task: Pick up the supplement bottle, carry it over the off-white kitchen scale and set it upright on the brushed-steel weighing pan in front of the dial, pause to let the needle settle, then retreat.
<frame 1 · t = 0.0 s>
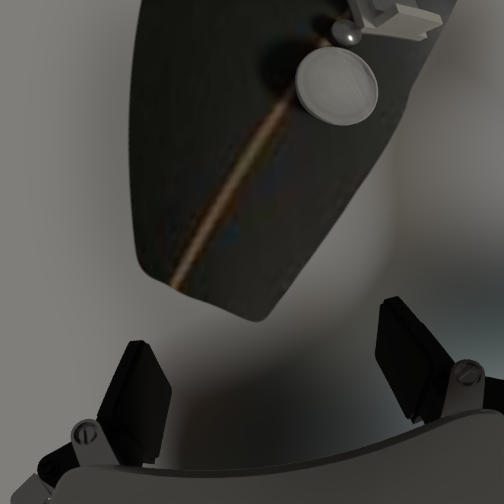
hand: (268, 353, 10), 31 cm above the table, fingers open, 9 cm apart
scale housing: (381, 12, 28), on the table
ramekin: (327, 91, 34), on the table
shiny gray ball: (340, 37, 30), on the table
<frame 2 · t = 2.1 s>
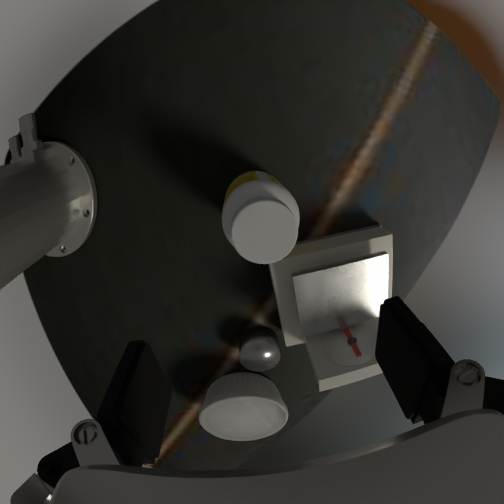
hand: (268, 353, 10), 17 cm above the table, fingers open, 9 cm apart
scale housing: (330, 280, 29), on the table
ramekin: (242, 391, 35), on the table
shiny gray ball: (258, 340, 31), on the table
pan: (342, 292, 25), point 4 cm above the table, slide at 1.2 cm
supplement bottle: (255, 199, 25), on the table
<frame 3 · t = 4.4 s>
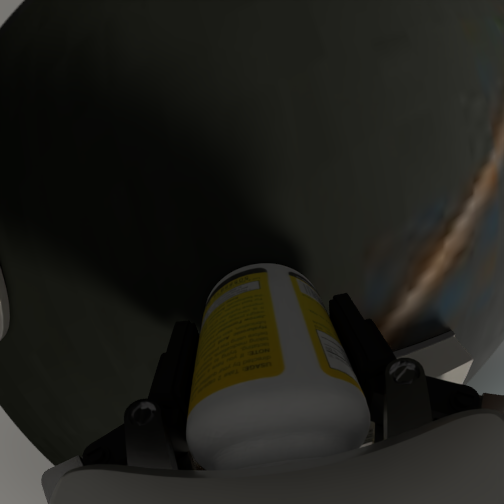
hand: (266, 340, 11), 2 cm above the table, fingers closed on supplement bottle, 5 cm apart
scale housing: (366, 405, 16), on the table
pan: (386, 444, 12), point 4 cm above the table, slide at 1.2 cm
supplement bottle: (262, 310, 13), on the table, touching gripper
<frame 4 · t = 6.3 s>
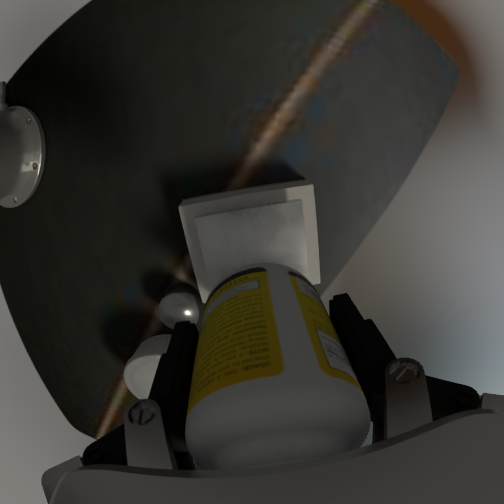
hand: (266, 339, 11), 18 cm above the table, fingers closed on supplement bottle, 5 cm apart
scale housing: (252, 236, 28), on the table
ramekin: (173, 357, 35), on the table
shiny gray ball: (182, 299, 31), on the table
pan: (253, 243, 24), point 4 cm above the table, slide at 1.2 cm
supplement bottle: (262, 310, 13), point 16 cm above the table, touching gripper
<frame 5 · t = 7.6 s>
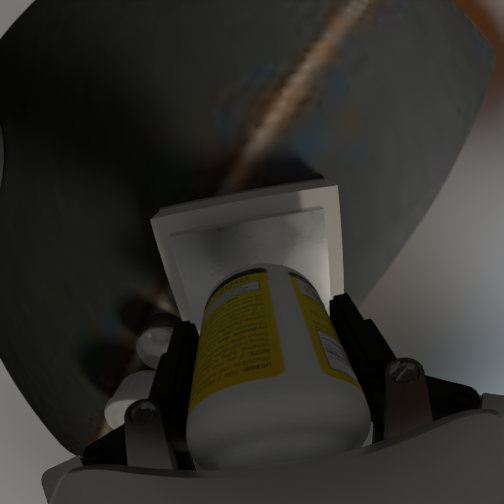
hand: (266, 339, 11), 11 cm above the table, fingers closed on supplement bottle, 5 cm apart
scale housing: (254, 256, 21), on the table
ramekin: (163, 393, 28), on the table
shiny gray ball: (167, 332, 24), on the table
pan: (255, 269, 17), point 4 cm above the table, slide at 1.2 cm
supplement bottle: (262, 310, 13), point 9 cm above the table, touching gripper
when the fingers open (9 cm above the table, at t = 8.3 s): supplement bottle drops 2 cm, resting on pan.
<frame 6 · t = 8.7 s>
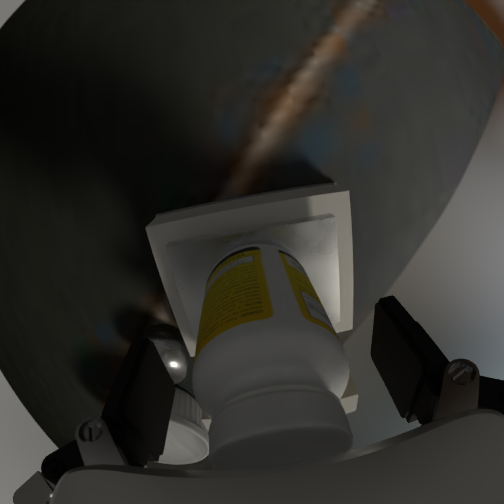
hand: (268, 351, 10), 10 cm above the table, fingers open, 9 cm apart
scale housing: (257, 265, 20), on the table
ramekin: (163, 404, 26), on the table
shiny gray ball: (166, 343, 23), on the table
pan: (259, 281, 16), point 4 cm above the table, slide at 1.3 cm, touching supplement bottle
supplement bottle: (257, 287, 15), point 5 cm above the table, touching pan
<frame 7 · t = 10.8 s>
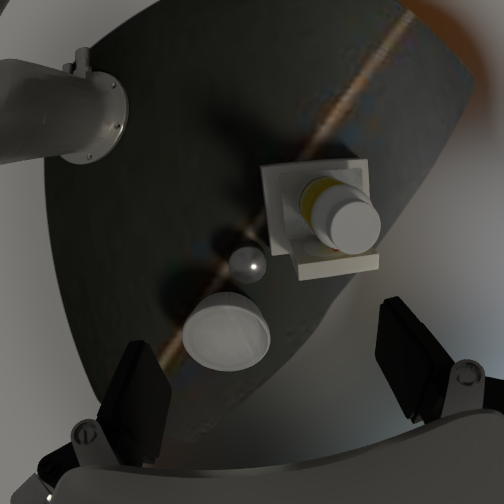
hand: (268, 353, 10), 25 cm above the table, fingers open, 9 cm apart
scale housing: (314, 202, 33), on the table
ramekin: (228, 318, 39), on the table
shiny gray ball: (247, 256, 35), on the table
pan: (322, 200, 29), point 4 cm above the table, slide at 1.3 cm, touching supplement bottle
supplement bottle: (323, 201, 28), point 5 cm above the table, touching pan
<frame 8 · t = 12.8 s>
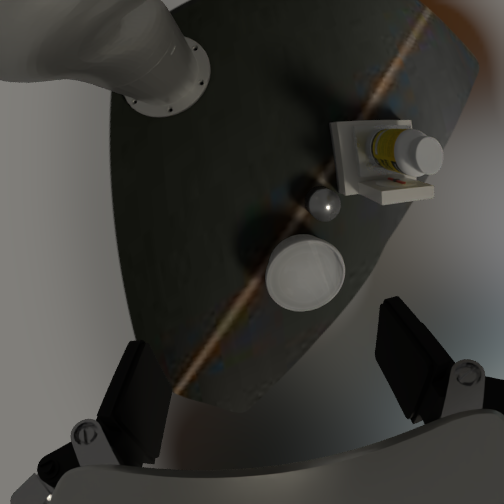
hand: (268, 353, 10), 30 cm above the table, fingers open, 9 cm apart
scale housing: (371, 154, 36), on the table
ramekin: (299, 261, 43), on the table
shiny gray ball: (319, 201, 39), on the table
pan: (384, 149, 32), point 4 cm above the table, slide at 1.3 cm, touching supplement bottle
supplement bottle: (385, 149, 31), point 5 cm above the table, touching pan
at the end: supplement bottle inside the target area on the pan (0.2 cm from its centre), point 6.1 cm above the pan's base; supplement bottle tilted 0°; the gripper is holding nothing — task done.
